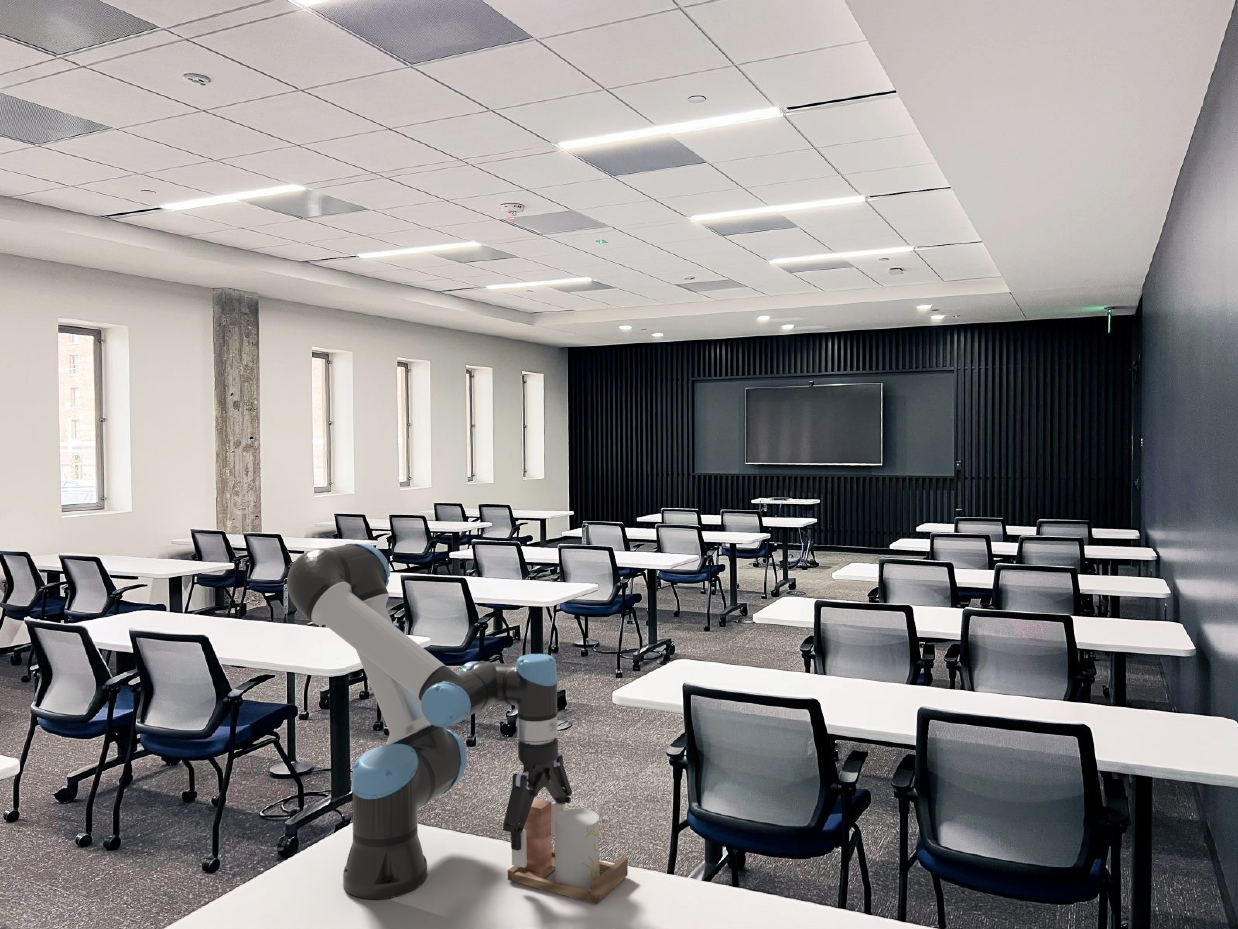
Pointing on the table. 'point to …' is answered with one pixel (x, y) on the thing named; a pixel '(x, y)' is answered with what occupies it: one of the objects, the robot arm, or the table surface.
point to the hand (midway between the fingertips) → (539, 850)
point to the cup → (577, 848)
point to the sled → (544, 861)
